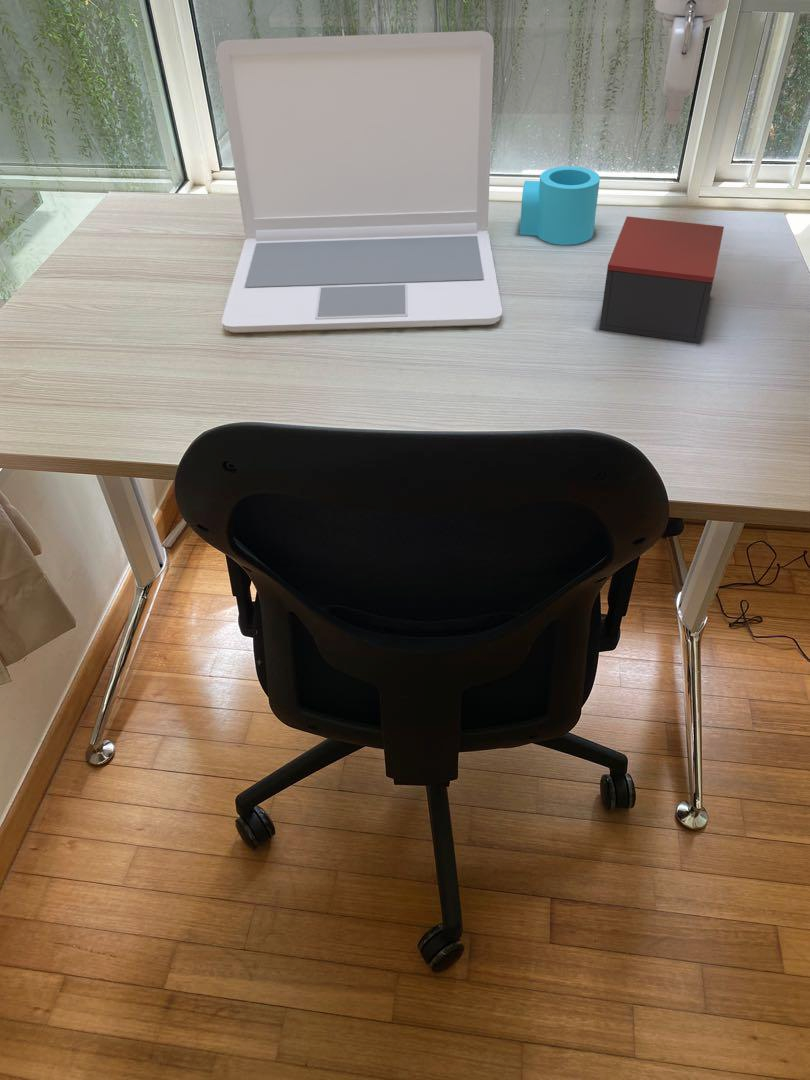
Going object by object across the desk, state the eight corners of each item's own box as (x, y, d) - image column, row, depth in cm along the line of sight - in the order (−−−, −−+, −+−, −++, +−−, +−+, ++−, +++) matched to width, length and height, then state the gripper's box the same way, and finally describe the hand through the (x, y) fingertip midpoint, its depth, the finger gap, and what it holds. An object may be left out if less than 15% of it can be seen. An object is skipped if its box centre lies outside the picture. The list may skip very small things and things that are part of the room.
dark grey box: (615, 285, 132) (623, 228, 126) (708, 297, 128) (721, 239, 122) (599, 329, 122) (607, 270, 116) (699, 343, 119) (712, 283, 113)
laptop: (221, 337, 124) (176, 105, 103) (248, 243, 146) (215, 37, 125) (503, 328, 123) (514, 93, 102) (486, 235, 146) (493, 27, 125)
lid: (626, 221, 127) (626, 216, 127) (722, 231, 124) (724, 226, 123) (607, 270, 116) (607, 264, 116) (712, 283, 113) (714, 277, 112)
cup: (517, 242, 144) (521, 186, 137) (523, 218, 150) (527, 164, 144) (591, 246, 142) (598, 190, 135) (594, 222, 148) (601, 167, 142)
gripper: (719, 13, 101) (696, 138, 110) (718, -24, 115) (698, 89, 124) (663, 12, 102) (644, 136, 111) (669, -25, 116) (652, 87, 126)
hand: (673, 111), depth 118 cm, fingers open, 8 cm apart
